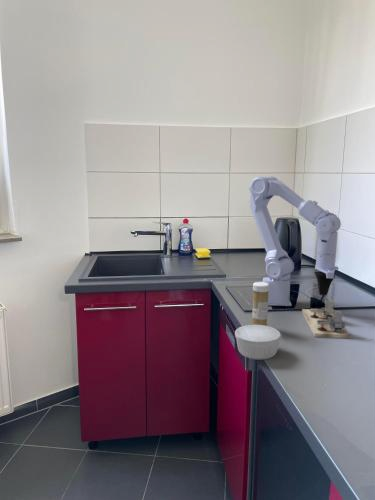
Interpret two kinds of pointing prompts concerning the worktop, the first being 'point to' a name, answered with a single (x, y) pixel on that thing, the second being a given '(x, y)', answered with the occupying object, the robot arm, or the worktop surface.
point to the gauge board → (326, 330)
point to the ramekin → (257, 341)
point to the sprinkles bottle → (260, 303)
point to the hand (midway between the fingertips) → (322, 294)
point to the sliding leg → (325, 309)
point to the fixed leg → (334, 321)
